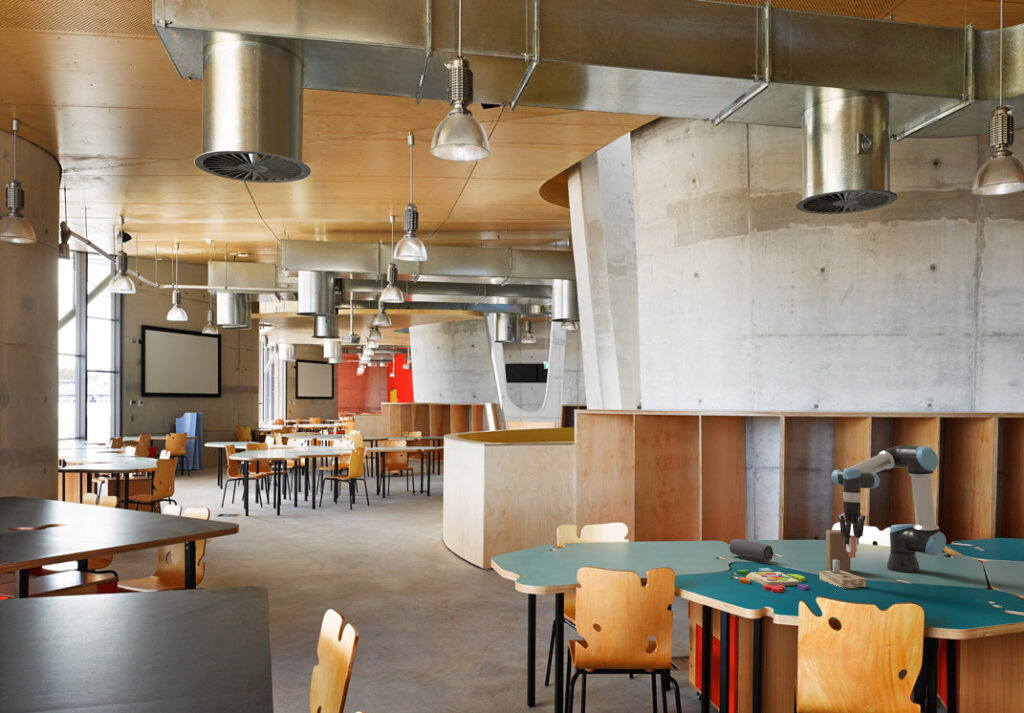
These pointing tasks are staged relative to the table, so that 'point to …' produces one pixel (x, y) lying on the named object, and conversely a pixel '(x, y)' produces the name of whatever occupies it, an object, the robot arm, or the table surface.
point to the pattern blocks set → (772, 579)
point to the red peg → (852, 547)
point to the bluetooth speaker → (751, 550)
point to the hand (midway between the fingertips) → (851, 551)
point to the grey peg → (836, 567)
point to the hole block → (842, 579)
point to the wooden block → (836, 551)
